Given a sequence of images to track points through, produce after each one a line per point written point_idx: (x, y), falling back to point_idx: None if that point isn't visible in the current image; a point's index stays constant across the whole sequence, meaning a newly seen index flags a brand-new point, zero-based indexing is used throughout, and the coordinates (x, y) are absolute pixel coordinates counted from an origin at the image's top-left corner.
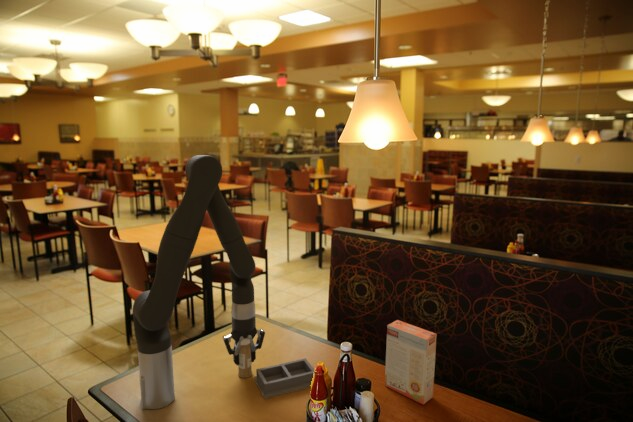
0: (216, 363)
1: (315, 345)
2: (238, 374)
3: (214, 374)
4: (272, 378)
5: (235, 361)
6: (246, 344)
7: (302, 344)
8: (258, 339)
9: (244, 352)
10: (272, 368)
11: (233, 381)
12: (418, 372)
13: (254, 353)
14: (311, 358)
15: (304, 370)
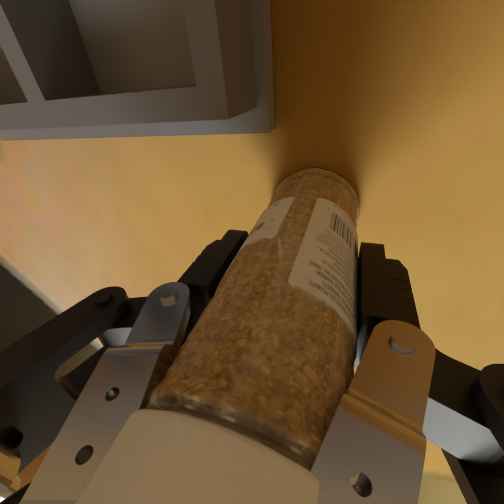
0: None
1: (30, 264)
2: (358, 216)
3: (497, 292)
4: (150, 52)
5: (396, 275)
6: (192, 429)
7: (70, 289)
8: (57, 395)
9: (285, 305)
10: (108, 95)
11: (422, 163)
12: None
13: (192, 275)
14: (17, 196)
15: None
